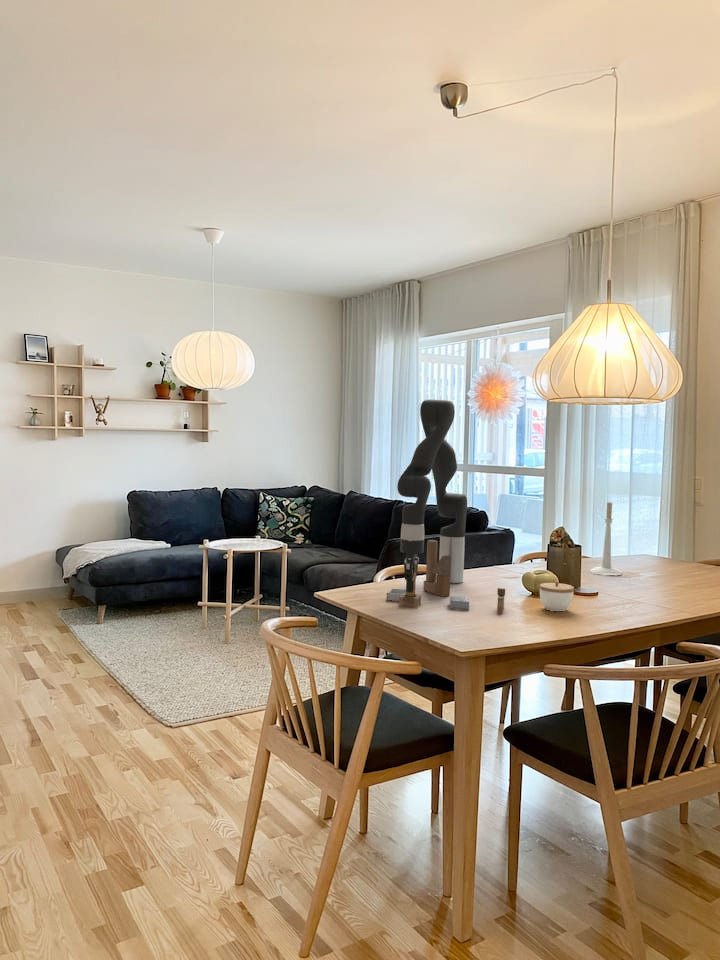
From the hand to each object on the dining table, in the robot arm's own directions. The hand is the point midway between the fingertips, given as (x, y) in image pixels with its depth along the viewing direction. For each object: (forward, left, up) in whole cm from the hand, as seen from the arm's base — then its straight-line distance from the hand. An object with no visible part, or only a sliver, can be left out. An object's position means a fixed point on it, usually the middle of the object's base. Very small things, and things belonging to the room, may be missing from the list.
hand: (410, 590), depth 240 cm
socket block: (0, 0, -5) cm, 5 cm away
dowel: (0, 0, -4) cm, 4 cm away
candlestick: (-88, +66, -5) cm, 110 cm away
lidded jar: (-11, +45, -5) cm, 47 cm away
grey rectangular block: (-3, +15, -5) cm, 17 cm away
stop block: (-3, +28, -5) cm, 29 cm away
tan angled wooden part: (-21, +5, -5) cm, 22 cm away
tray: (-7, -5, -5) cm, 10 cm away
